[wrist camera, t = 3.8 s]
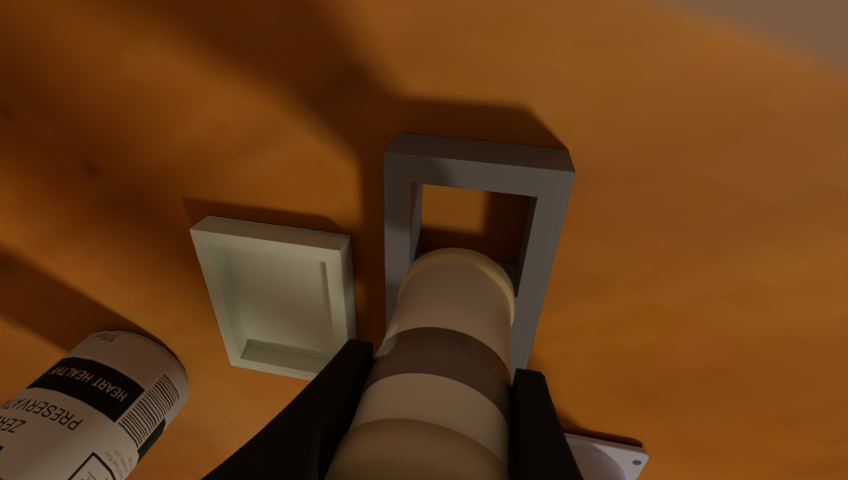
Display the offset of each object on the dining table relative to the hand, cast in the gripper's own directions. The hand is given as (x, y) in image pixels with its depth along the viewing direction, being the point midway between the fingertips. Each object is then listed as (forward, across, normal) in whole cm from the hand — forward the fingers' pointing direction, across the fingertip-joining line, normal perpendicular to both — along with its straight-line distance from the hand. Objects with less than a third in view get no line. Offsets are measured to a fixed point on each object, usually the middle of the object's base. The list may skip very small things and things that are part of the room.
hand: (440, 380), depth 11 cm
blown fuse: (+4, 0, 0) cm, 4 cm away
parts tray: (+10, +10, +7) cm, 15 cm away
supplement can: (+10, +23, +16) cm, 30 cm away
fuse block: (+10, 0, +4) cm, 10 cm away
